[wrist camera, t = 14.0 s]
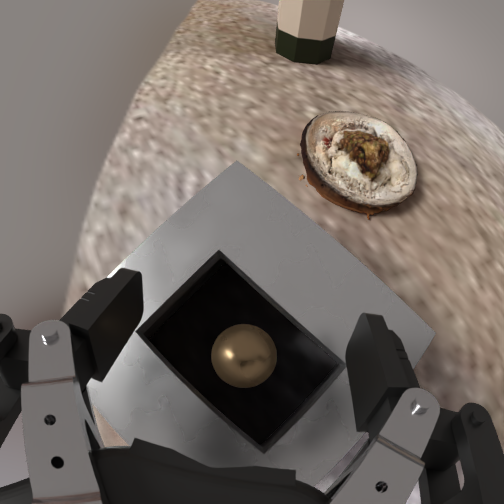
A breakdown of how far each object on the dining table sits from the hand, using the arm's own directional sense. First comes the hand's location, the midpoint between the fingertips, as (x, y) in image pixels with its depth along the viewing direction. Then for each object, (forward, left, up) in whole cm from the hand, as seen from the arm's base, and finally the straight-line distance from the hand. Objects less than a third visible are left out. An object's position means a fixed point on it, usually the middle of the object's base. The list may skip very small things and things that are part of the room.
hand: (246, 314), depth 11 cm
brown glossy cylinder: (+1, +1, -13) cm, 13 cm away
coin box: (+1, +1, -13) cm, 13 cm away
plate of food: (-20, -3, -13) cm, 24 cm away
